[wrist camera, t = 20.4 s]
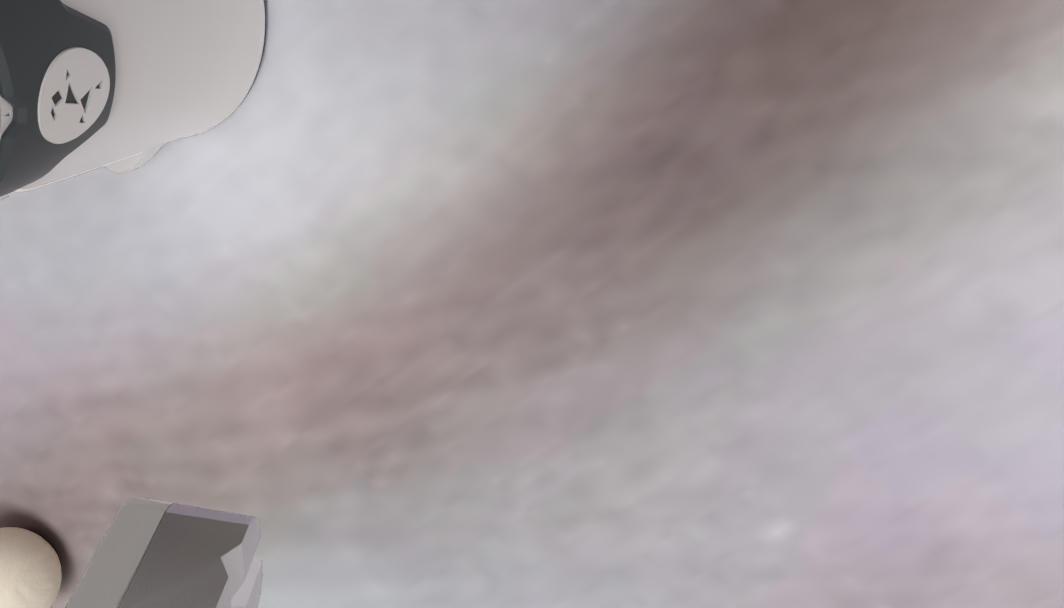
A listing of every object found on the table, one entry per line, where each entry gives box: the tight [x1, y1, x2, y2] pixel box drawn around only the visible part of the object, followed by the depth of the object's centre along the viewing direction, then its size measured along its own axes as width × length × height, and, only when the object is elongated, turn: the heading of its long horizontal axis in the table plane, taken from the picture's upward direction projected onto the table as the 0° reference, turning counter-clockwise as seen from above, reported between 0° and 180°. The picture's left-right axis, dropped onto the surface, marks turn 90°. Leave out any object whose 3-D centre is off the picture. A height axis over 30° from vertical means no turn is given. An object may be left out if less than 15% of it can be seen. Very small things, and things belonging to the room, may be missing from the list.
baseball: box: [0, 527, 62, 608], centre depth 67 cm, size 7×7×7 cm
